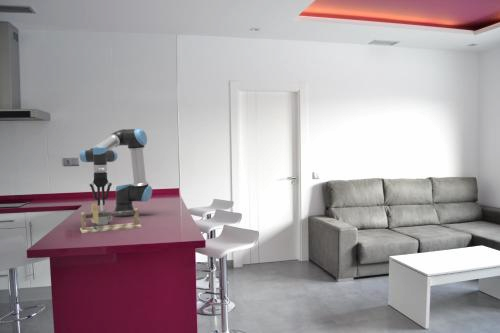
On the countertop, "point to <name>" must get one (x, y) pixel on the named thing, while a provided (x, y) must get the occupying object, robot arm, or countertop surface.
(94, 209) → the collar
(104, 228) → the rail
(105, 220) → the cup
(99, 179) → the robot arm
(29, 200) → the countertop surface
